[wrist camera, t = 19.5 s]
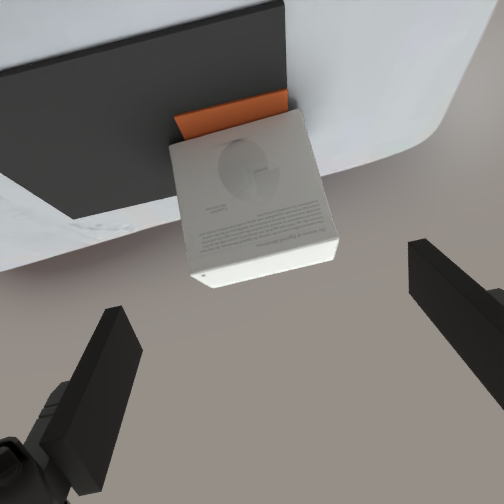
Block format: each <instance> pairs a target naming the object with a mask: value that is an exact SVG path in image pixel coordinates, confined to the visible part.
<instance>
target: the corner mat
mask: <svg viewBox="0 0 504 504" xmlns="http://www.w3.org/2000/svg"><path fill="white" fill-rule="evenodd" d="M285 112H288V90H287V75H286V38H285V5H284V1H283V0H280V1H276V2H273V3H269V4H265V5H261V6H257V7H253V8H249V9H245V10H241V11H237V12H234V13H230V14H226V15H222V16H218V17H214V18H210V19H206V20H202V21H198V22H195V23H191V24H187V25H183V26H179V27H175V28H171V29H167V30H163V31H159V32H156V33H152V34H148V35H144V36H140V37H136V38H132V39H128V40H124V41H120V42H117V43H113V44H109V45H105V46H101V47H97V48H93V49H89V50H85V51H82V52H78V53H74V54H70V55H66V56H62V57H58V58H54V59H50V60H46V61H43V62H39V63H35V64H31V65H27V66H23V67H19V68H15V69H11V70H7V71H4V72H0V173H2V174H3V175H5V176H6V177H8V178H10V179H11V180H13V181H14V182H16V183H17V184H19V185H20V186H22V187H24V188H25V189H27V190H28V191H30V192H31V193H33V194H34V195H36V196H38V197H39V198H41V199H42V200H44V201H45V202H47V203H48V204H50V205H52V206H53V207H55V208H56V209H58V210H59V211H61V212H62V213H64V214H66V215H67V216H69V217H70V218H72V219H78V218H82V217H86V216H90V215H95V214H99V213H103V212H108V211H112V210H116V209H120V208H125V207H129V206H133V205H138V204H142V203H146V202H150V201H155V200H159V199H163V198H168V197H172V196H176V195H177V192H176V186H175V180H174V174H173V167H172V161H171V157H170V152H169V145H172V144H176V143H179V142H183V141H186V140H190V139H194V138H197V137H201V136H204V135H207V134H211V133H215V132H218V131H222V130H225V129H229V128H232V127H236V126H239V125H243V124H246V123H250V122H253V121H257V120H260V119H264V118H267V117H271V116H274V115H278V114H281V113H285Z"/></svg>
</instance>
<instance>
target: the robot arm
mask: <svg viewBox="0 0 504 504" xmlns="http://www.w3.org/2000/svg"><path fill="white" fill-rule="evenodd" d="M408 267H409V294H410V295H411V296H412V297H413V299H414V300H415V301H416V302H417V304H418V305H419V306H420V307H421V309H422V310H423V311H424V312H425V313H426V315H427V316H428V317H429V318H430V320H431V321H432V322H433V323H434V325H435V326H436V327H437V328H438V329H439V331H440V332H441V333H442V334H443V336H444V337H445V338H446V339H447V341H448V342H449V343H450V344H451V346H452V347H453V348H454V349H455V350H456V351H457V353H458V354H459V355H460V357H461V358H462V359H463V360H464V362H465V363H466V364H467V365H468V367H469V368H470V369H471V370H472V371H473V373H474V374H475V375H476V376H477V377H478V379H479V380H480V381H481V383H482V384H483V385H484V386H485V387H486V389H487V390H488V391H489V392H490V394H491V395H492V396H493V397H494V399H495V400H496V401H497V402H498V404H499V405H500V406H501V407H502V409H503V410H504V290H502V289H500V288H497V289H493V290H488V291H486V290H485V289H484V288H483V287H481V286H480V285H479V284H478V283H477V282H476V281H474V280H473V279H472V278H471V277H470V276H469V275H467V274H466V273H465V272H464V271H463V270H461V269H460V268H459V267H458V266H457V265H456V264H455V263H453V262H452V261H451V260H450V259H449V258H447V257H446V256H445V255H444V254H443V253H442V252H441V251H439V250H438V249H437V248H436V247H435V246H433V245H432V244H431V243H430V242H429V241H428V240H427V239H420V240H416V241H411V242H408ZM142 352H143V349H142V348H141V345H140V343H139V341H138V339H137V337H136V335H135V333H134V330H133V329H132V326H131V324H130V322H129V320H128V318H127V316H126V314H125V312H124V309H123V307H122V306H117V307H113V308H108V309H105V311H104V313H103V315H102V317H101V319H100V321H99V323H98V325H97V327H96V329H95V331H94V334H93V335H92V337H91V340H90V341H89V343H88V345H87V347H86V349H85V351H84V353H83V355H82V357H81V360H80V361H79V363H78V365H77V367H76V370H75V371H74V373H73V375H72V377H71V379H70V381H66V382H62V383H60V385H59V386H58V387H57V388H56V389H55V390H54V391H53V392H52V393H51V394H50V396H49V398H48V400H47V402H46V404H45V406H44V409H42V411H41V413H40V415H39V419H37V420H36V422H35V424H34V426H33V428H32V430H31V431H30V433H29V435H28V437H27V439H26V441H25V443H24V445H22V443H21V442H20V441H19V440H18V439H17V438H16V437H7V438H3V439H1V440H0V504H70V502H69V501H68V500H67V496H68V493H69V490H70V488H71V486H72V487H73V489H74V490H75V492H76V493H77V494H78V495H79V496H82V495H86V494H92V493H97V492H101V491H102V488H103V485H104V481H105V478H106V474H107V471H108V467H109V464H110V461H111V457H112V454H113V450H114V447H115V443H116V440H117V437H118V433H119V430H120V427H121V423H122V420H123V416H124V413H125V410H126V406H127V402H128V399H129V396H130V393H131V389H132V386H133V382H134V379H135V375H136V372H137V369H138V365H139V362H140V358H141V355H142Z"/></svg>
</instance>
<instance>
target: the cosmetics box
mask: <svg viewBox="0 0 504 504" xmlns="http://www.w3.org/2000/svg"><path fill="white" fill-rule="evenodd" d="M169 152H170V157H171V161H172V167H173V174H174V180H175V186H176V192H177V198H178V204H179V210H180V216H181V222H182V228H183V234H184V240H185V246H186V252H187V257H188V267H189V273H190V276H192V277H193V278H195V279H197V280H199V281H200V282H202V283H204V284H205V285H207V286H209V287H211V288H217V287H221V286H225V285H229V284H233V283H237V282H241V281H245V280H249V279H254V278H258V277H262V276H267V275H270V274H275V273H279V272H283V271H287V270H292V269H295V268H300V267H304V266H308V265H313V264H317V263H321V262H325V261H330V260H333V259H334V256H335V253H336V249H337V246H338V242H339V235H338V232H337V229H336V227H335V225H334V221H333V218H332V215H331V211H330V208H329V205H328V201H327V198H326V194H325V191H324V187H323V184H322V180H321V177H320V174H319V170H318V167H317V164H316V160H315V157H314V153H313V150H312V147H311V143H310V140H309V137H308V134H307V131H306V128H305V122H304V117H303V113H302V111H301V110H300V109H295V110H292V111H289V112H285V113H281V114H278V115H274V116H271V117H267V118H264V119H260V120H257V121H253V122H250V123H246V124H243V125H239V126H236V127H232V128H229V129H225V130H222V131H218V132H215V133H211V134H207V135H204V136H201V137H197V138H194V139H190V140H186V141H183V142H179V143H176V144H172V145H169Z"/></svg>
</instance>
